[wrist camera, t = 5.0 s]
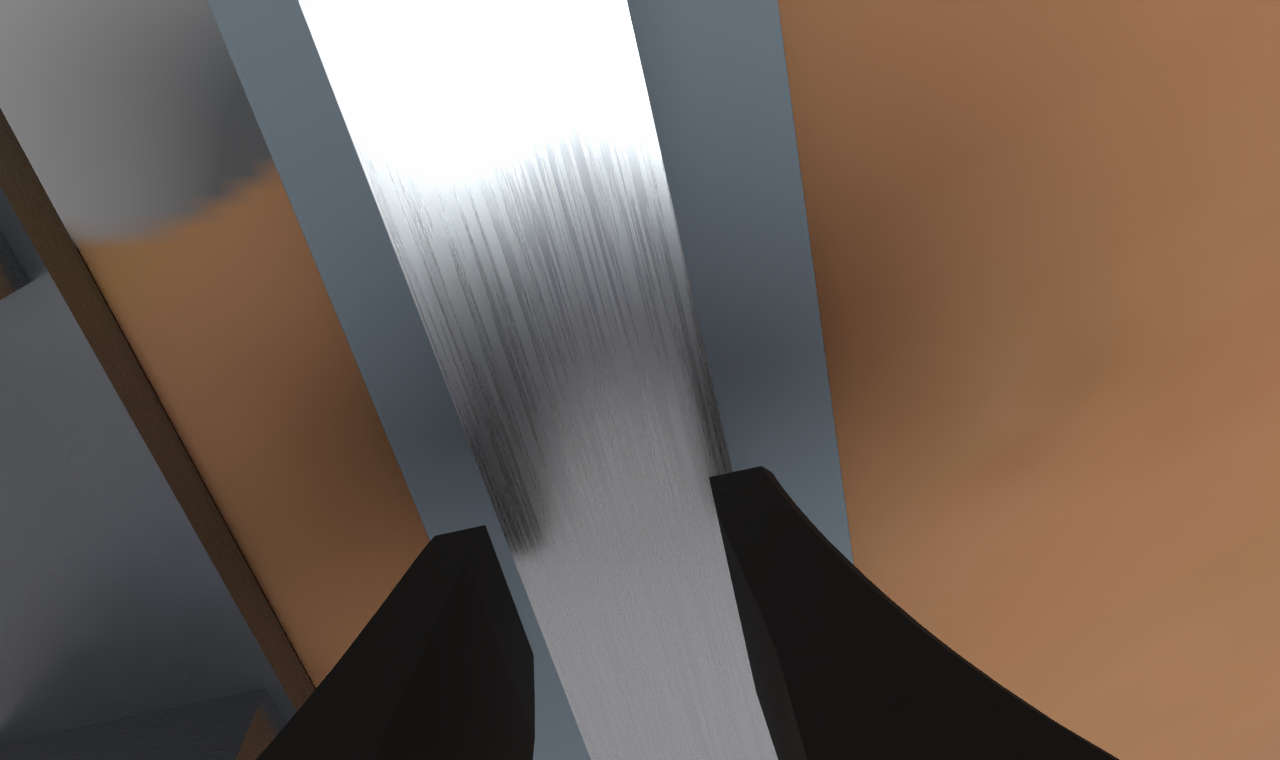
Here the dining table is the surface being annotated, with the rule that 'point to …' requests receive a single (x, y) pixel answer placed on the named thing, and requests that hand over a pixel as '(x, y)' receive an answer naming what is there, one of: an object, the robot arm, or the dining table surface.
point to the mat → (710, 237)
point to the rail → (562, 341)
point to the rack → (111, 536)
